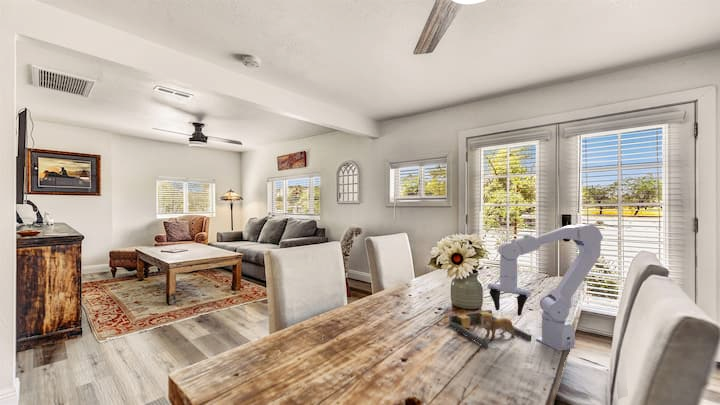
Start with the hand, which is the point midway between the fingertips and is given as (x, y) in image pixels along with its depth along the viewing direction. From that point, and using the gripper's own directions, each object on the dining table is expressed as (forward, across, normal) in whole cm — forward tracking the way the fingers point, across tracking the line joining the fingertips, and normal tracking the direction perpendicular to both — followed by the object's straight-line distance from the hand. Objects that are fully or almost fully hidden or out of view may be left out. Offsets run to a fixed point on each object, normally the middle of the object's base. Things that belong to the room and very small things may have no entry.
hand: (508, 312), depth 112 cm
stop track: (+10, +7, 0) cm, 12 cm away
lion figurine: (+10, +3, +2) cm, 10 cm away
